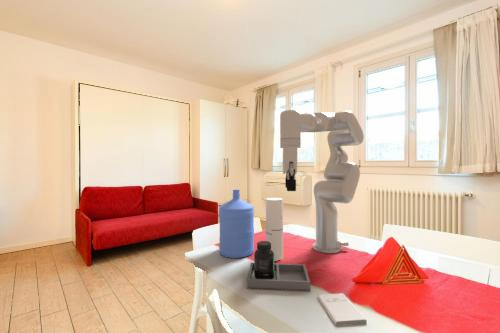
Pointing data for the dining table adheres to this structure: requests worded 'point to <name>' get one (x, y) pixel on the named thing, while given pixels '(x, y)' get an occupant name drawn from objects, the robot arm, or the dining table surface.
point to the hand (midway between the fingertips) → (290, 189)
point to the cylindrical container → (275, 226)
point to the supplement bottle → (264, 261)
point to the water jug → (236, 228)
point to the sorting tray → (281, 278)
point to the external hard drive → (341, 309)
